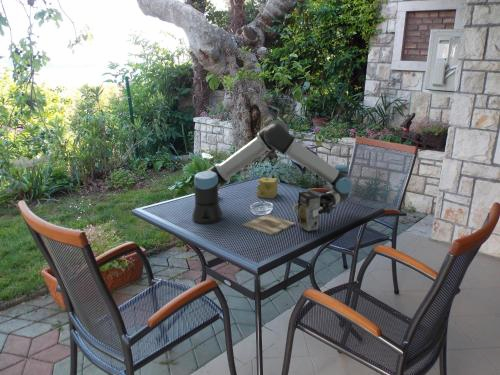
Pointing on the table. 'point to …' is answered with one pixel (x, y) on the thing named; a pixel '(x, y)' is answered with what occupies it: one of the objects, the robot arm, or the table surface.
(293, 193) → the table surface
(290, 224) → the board
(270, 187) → the cheese
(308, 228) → the coffee box
